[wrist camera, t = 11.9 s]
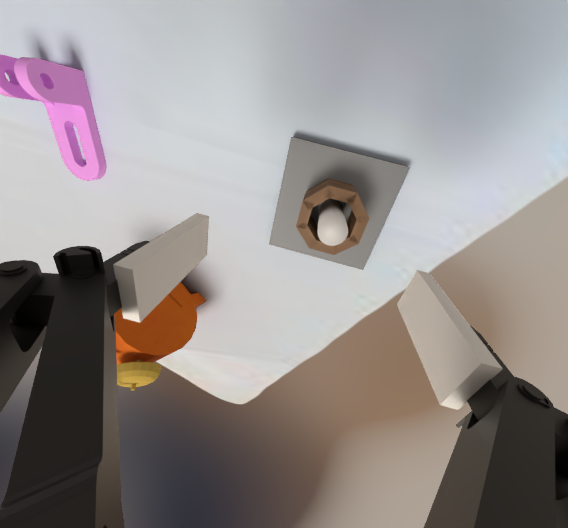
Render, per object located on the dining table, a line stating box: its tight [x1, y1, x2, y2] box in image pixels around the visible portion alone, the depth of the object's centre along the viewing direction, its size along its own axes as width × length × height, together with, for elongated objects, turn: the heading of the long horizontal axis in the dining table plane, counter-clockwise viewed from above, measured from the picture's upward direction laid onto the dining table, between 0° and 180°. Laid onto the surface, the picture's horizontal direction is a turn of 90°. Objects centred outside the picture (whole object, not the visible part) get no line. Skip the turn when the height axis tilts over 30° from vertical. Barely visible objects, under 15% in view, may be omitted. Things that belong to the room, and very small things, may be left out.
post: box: [269, 137, 410, 270], centre depth 27 cm, size 14×14×10 cm
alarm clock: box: [114, 282, 206, 390], centre depth 34 cm, size 13×6×20 cm, turn 36°
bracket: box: [0, 55, 106, 181], centre depth 29 cm, size 13×6×7 cm, turn 174°
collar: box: [296, 178, 369, 255], centre depth 28 cm, size 7×7×5 cm
